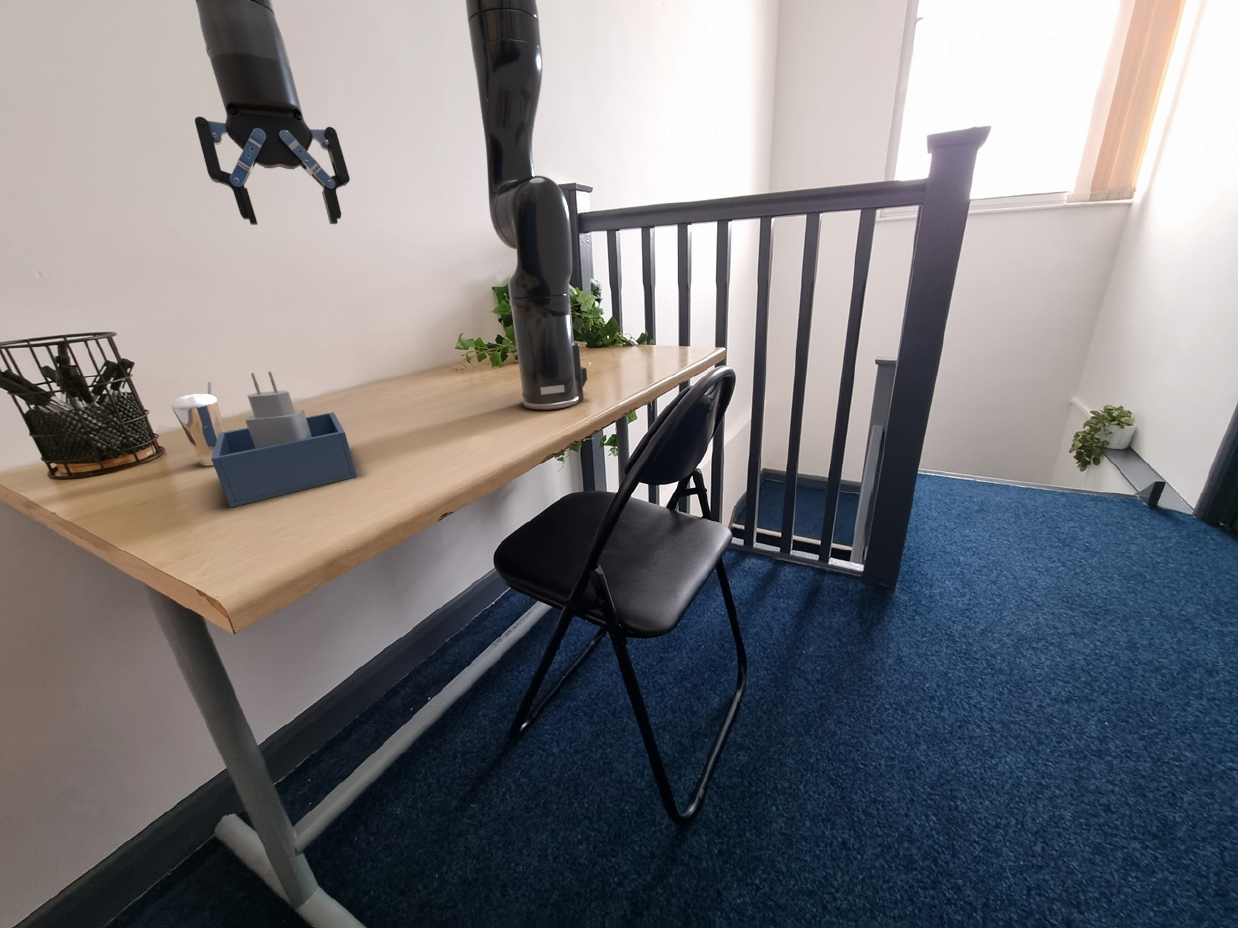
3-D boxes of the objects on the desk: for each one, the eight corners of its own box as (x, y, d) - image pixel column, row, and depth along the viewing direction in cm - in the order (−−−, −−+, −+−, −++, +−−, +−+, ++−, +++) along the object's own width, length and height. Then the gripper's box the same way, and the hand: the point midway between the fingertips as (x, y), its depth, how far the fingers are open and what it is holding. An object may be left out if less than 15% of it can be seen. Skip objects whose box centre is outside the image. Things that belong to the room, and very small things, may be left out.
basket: (344, 451, 67) (333, 412, 65) (357, 476, 58) (345, 432, 56) (234, 475, 61) (218, 433, 58) (230, 507, 52) (211, 459, 50)
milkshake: (251, 452, 68) (225, 381, 65) (218, 467, 63) (188, 391, 60) (221, 453, 69) (194, 382, 65) (186, 468, 64) (154, 392, 60)
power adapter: (311, 475, 58) (278, 373, 53) (263, 479, 57) (226, 377, 53) (323, 465, 61) (293, 367, 56) (277, 469, 60) (243, 371, 56)
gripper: (163, 38, 49) (223, 222, 55) (326, 61, 56) (363, 220, 62) (174, 65, 54) (226, 228, 61) (320, 82, 62) (354, 226, 68)
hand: (295, 224), depth 61 cm, fingers open, 8 cm apart
